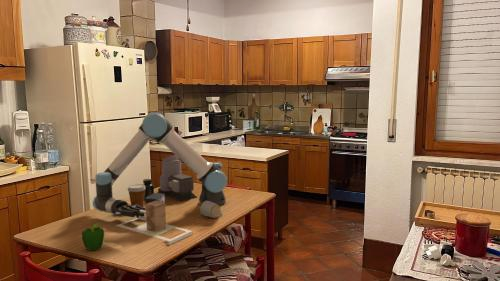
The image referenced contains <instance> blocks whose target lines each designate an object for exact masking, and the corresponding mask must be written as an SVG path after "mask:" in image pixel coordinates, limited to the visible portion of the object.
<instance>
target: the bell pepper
mask: <svg viewBox="0 0 500 281" xmlns="http://www.w3.org/2000/svg"><path fill="white" fill-rule="evenodd" d="M81 239H82V243H83V245H84V248H85V249H86V250H88V251H97V250H99V249H100V248H102V247H103V242H104V239H105V230H104V228H102V227H100V223H98V222H97V223H95V224H93V225H92V226H91V228H89V227H87V228H86V229H84V230H82V232H81Z"/></svg>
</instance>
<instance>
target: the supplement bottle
mask: <svg viewBox="0 0 500 281" xmlns="http://www.w3.org/2000/svg"><path fill="white" fill-rule="evenodd" d="M142 181H143V182H142V185H145V187H146V189H145V195H144V202H145V198H146V197H148V196H150V195H152V194H153V193H155V187H154V184H153V181H152V178H144V179H142Z"/></svg>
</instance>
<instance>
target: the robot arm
mask: <svg viewBox="0 0 500 281" xmlns="http://www.w3.org/2000/svg"><path fill="white" fill-rule="evenodd" d="M151 140H154V141H155V142H157V144H163V145H164V146H165V147H166V148H167V149H168V150H169V151H171V152H172V153H173V154H174V155H176V156H177V157H178V160H180V161H181V162H183V163H184V164H185V165H186V166H187V167H188V168H189V169H190V170H192V172H194V174H196V179H197V180H198V181H199V182H200V183H201V192H200V195H199V198H198V203H199V205H200V206H201V205H202V203H203V202H204V201H210V202H213V203H215V204H217V205H219V206H222V205H225V204H226V202H227V200H226V195H225V193H224V189H225V188H226V187H227V184H228V177H227V174H226V173H224V171H223V164H222V163H221V162H212V161H207V160H206V159H205V158H204V157H203V156H202V155H201V154H200V153H199V152H198V151H197V150H195V148H193V147H192V145H190V143H188V142H187V140H185V139H184V138H183V137H181V135H180V134H179V133H177V131H175V126H174V125H173V124H172V123H171V122H170V121H169V120H168V119H167V118H166V117H165V115H164V114H163V113H161V112H159V111H152V112H149V113H148V114H146V115H145V117H144V118H143V119H142V122H141V124H140V126H139V127H138V131H137V132H136V133H135V134H134V136H133V137H132V138H131V139H130V141H129V142H128V143H127V144H126V145H125V146H124V148H123V149H122V150H121V151H120V152H119V153H118V155H117V156H116V157H115V158H114V159H113V161H112V162H110V164H109V165H108V167H107V168H106V169H105V170H104V171H101V172H98V173H96V174H95V180H94V181H95V192H96V196H95V197H94V198H93V201H92V207H93V208H94V209H95V210H97V211H100V212H104V213H108V214H111V215H113V216H117V217H127V218H128V217H129V218H135V217H136V218H139V217H141V218H145V219H146V210H145V206H144V207H142V206H140V205H138V204H136V205H135V206H132V205H131V203H130V204H129V203H128V202H127V201H126V200H124V199H119V198H115V197H113V185H114V183H116V181H117V179H119V178H120V176H121V175H122V174H123V173H124V171H125V170H126V169H127V168H128V166H129V165H130V164H131V163H132V162H133V160H134V159H135V158H136V157H137V156H138V155H139V153H140V152H141V151H142V150H143V149H144V148H145V146H146V145H147V144H148V143H149V141H151Z"/></svg>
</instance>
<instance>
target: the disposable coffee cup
mask: <svg viewBox="0 0 500 281" xmlns="http://www.w3.org/2000/svg"><path fill="white" fill-rule="evenodd" d="M145 189H146V187H145V185H143V183H142V184H138V183H136V184H130V185H128V187H127V191H128V196H129V200H130V201H129V202H130V205H132V206H135V205H136V204H138V205H140V206H142V207H144V208H145V206H144V205H145V201H144V195H145Z"/></svg>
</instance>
